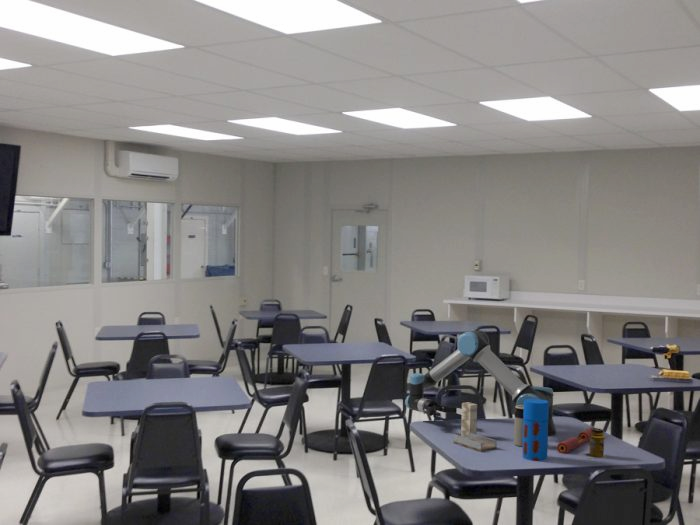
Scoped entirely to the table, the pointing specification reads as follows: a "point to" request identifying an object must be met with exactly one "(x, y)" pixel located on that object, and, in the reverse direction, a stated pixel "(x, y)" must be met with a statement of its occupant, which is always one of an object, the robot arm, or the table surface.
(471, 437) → the floor track
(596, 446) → the condiment
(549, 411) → the robot arm
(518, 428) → the travel mug
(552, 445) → the table surface
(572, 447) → the blood vessel
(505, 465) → the table surface
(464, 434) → the pale wooden block
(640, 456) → the table surface
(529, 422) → the thermos
